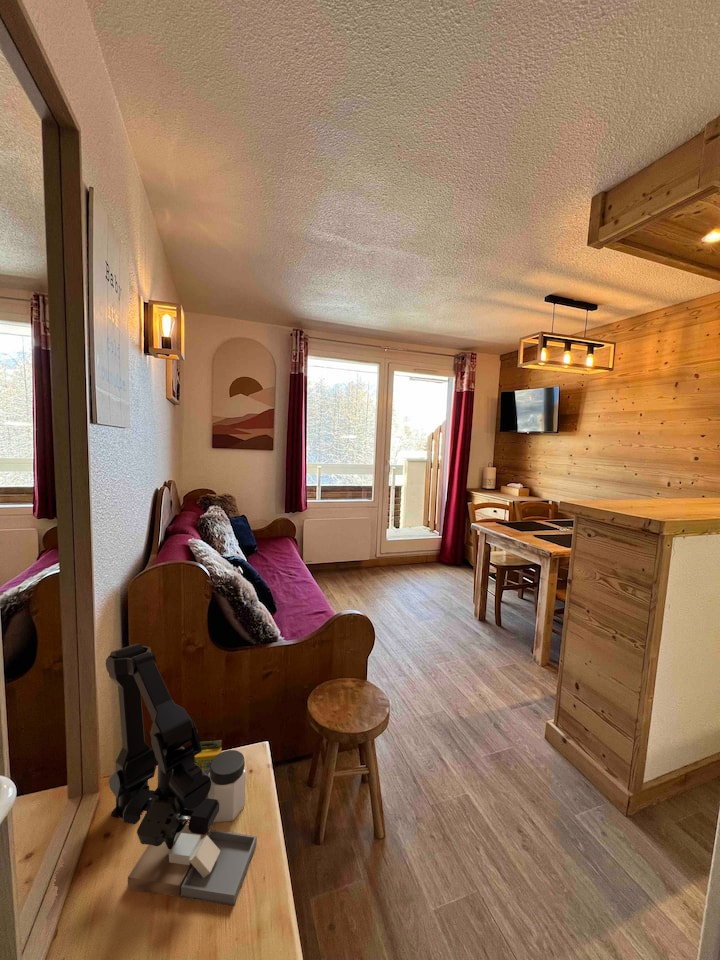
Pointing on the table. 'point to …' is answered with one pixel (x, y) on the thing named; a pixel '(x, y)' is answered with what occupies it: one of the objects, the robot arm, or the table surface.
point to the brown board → (159, 871)
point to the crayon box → (207, 755)
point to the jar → (228, 784)
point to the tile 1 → (184, 848)
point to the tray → (222, 870)
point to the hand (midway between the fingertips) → (171, 847)
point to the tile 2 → (205, 856)
